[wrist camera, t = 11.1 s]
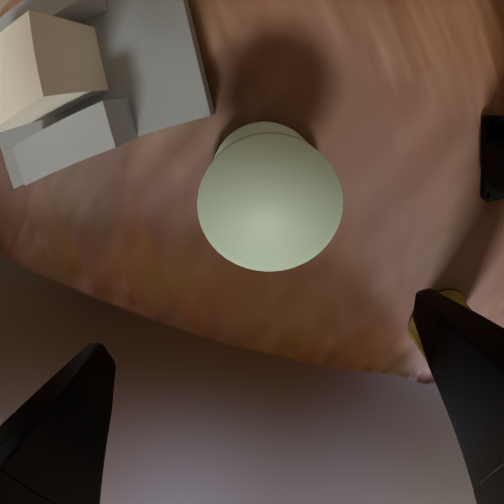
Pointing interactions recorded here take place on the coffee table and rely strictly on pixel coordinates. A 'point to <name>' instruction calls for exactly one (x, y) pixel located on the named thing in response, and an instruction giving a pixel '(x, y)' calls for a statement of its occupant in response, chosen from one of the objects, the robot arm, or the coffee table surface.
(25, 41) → the block
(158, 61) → the notch board
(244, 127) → the spool
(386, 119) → the coffee table surface
